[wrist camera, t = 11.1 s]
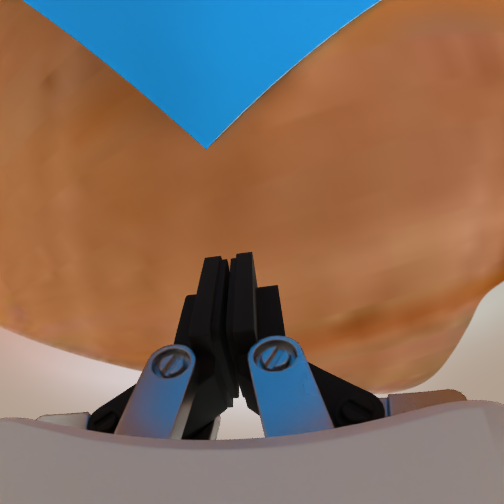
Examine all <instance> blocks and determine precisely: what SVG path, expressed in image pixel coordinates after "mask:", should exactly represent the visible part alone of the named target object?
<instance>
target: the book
mask: <svg viewBox="0 0 504 504" xmlns="http://www.w3.org/2000/svg"><path fill="white" fill-rule="evenodd" d="M23 1H24V2H26V3H27V4H28V5H30V6H31V7H33V8H34V9H35V10H37V11H38V12H40V13H41V14H42V15H44V16H45V17H47V18H48V19H49V20H51V21H52V22H53V23H55V24H56V25H57V26H59V27H60V28H61V29H63V30H64V31H65V32H67V33H68V34H69V35H70V36H72V37H73V38H74V39H76V40H77V41H78V42H80V43H81V44H82V45H83V46H85V47H86V48H87V49H89V50H90V51H91V52H92V53H94V54H95V55H96V56H97V57H99V58H100V59H101V60H102V61H104V62H105V63H106V64H107V65H109V66H110V67H111V68H112V69H113V70H115V71H116V72H117V73H118V74H120V75H121V76H122V77H123V78H124V79H126V80H127V81H128V82H129V83H130V84H132V85H133V86H134V87H135V88H136V89H138V90H139V91H140V92H141V93H142V94H144V95H145V96H146V97H147V98H148V99H149V100H151V101H152V102H153V103H154V104H155V105H156V106H158V107H159V108H160V109H161V110H162V111H163V112H165V113H166V114H167V115H168V116H169V117H170V118H171V119H173V120H174V121H175V122H176V123H177V124H178V125H179V126H181V127H182V128H183V129H184V130H185V131H186V132H187V133H188V134H190V135H191V136H192V137H193V138H194V139H195V140H196V141H197V142H198V143H200V144H201V145H202V146H203V147H204V148H205V149H207V148H208V147H209V146H210V145H211V144H212V143H213V142H214V141H216V140H217V139H218V138H219V137H220V136H221V134H222V133H223V132H224V131H225V130H226V129H227V128H228V127H229V126H230V125H231V124H232V123H233V122H234V121H235V120H236V119H238V118H239V117H240V116H241V115H242V114H243V113H244V112H245V111H246V110H247V109H248V108H249V107H250V106H251V105H252V104H253V103H254V102H255V101H256V100H257V99H258V98H259V97H261V96H262V95H263V94H264V93H265V92H266V91H267V90H268V89H269V88H270V87H271V86H273V85H274V84H275V83H276V82H277V81H278V80H279V79H280V78H282V77H283V76H284V75H285V74H286V73H287V72H288V71H290V70H291V69H292V68H293V67H294V66H295V65H297V64H298V63H299V62H300V61H301V60H303V59H304V58H305V57H306V56H307V55H309V54H310V53H311V52H312V51H314V50H315V49H316V48H317V47H319V46H320V45H321V44H322V43H324V42H325V41H326V40H327V39H329V38H330V37H331V36H333V35H334V34H335V33H336V32H338V31H339V30H340V29H342V28H343V27H344V26H346V25H347V24H348V23H350V22H351V21H353V20H354V19H355V18H357V17H358V16H360V15H361V14H362V13H364V12H365V11H367V10H368V9H370V8H371V7H373V6H374V5H375V4H377V3H378V2H380V1H381V0H23Z"/></svg>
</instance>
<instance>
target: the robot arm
mask: <svg viewBox="0 0 504 504" xmlns="http://www.w3.org/2000/svg"><path fill="white" fill-rule="evenodd" d="M239 385H240V388H241V392H242V395H243V397H245V399H246V403H247V406H248V408H249V409H251V410H252V411H254V412H255V413H257V414H258V415H260V418H261V422H262V426H263V431H264V435H265V438H252V439H234V440H216V438H217V433H218V429H219V425H220V414H221V413H222V412H224V411H225V410H226V409H227V407H233V398H238V397H239ZM0 504H504V404H501V403H498V402H493V401H484V400H467V399H466V397H465V396H464V395H463V394H462V393H461V392H458V391H456V390H450V389H447V390H437V391H428V392H417V393H403V394H389V395H388V397H387V398H378V397H376V396H375V395H373V394H372V393H370V392H368V391H366V390H363V389H361V388H359V387H357V386H355V385H353V384H351V383H349V382H347V381H345V380H343V379H340V378H338V377H336V376H334V375H332V374H330V373H328V372H326V371H324V370H322V369H320V368H318V367H316V366H314V365H313V364H311V363H309V362H307V360H306V357H305V355H304V352H303V350H302V348H301V346H300V345H299V343H298V342H296V341H295V340H293V339H292V338H289V337H286V336H285V330H284V323H283V317H282V310H281V304H280V297H279V290H278V285H275V286H267V287H259V288H258V287H257V280H256V274H255V267H254V261H253V255H252V252H248V253H240V254H237V255H236V258H232V259H231V265H230V271H229V266H228V261H227V259H224V260H222V258H221V256H216V257H208V258H205V260H204V264H203V268H202V272H201V277H200V281H199V285H198V290H197V294H196V295H188V296H186V298H185V302H184V306H183V310H182V313H181V317H180V321H179V325H178V329H177V333H176V337H175V341H174V344H173V345H168V346H164V347H162V348H160V349H158V350H157V351H155V352H154V353H153V354H152V355H151V356H150V358H149V359H148V361H147V363H146V365H145V367H144V369H143V371H142V373H141V376H140V378H139V380H138V382H137V384H135V385H134V386H132V387H130V388H129V389H127V390H126V391H125V392H123V393H121V394H120V395H118V396H117V397H115V398H114V399H112V400H111V401H109V402H108V403H106V404H105V405H103V406H101V407H100V408H99V409H97V410H96V411H95V412H94V413H93V414H92V415H90V414H89V412H83V413H71V414H54V415H44V416H40V417H39V418H37V419H36V420H33V419H26V418H1V419H0Z"/></svg>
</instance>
